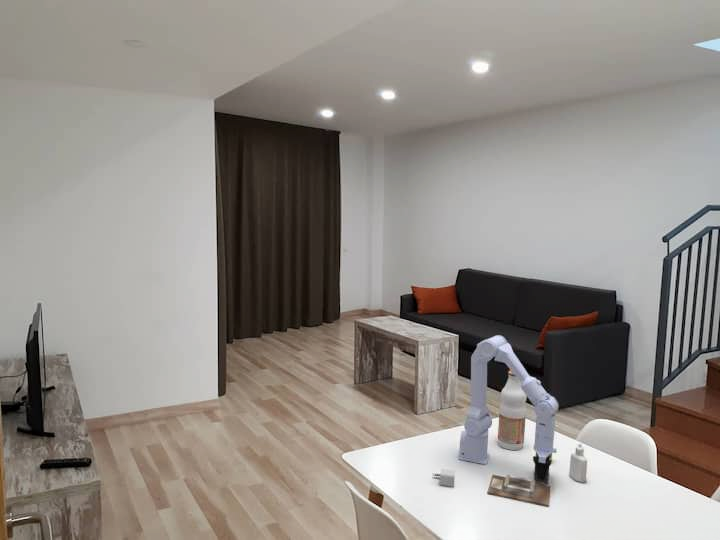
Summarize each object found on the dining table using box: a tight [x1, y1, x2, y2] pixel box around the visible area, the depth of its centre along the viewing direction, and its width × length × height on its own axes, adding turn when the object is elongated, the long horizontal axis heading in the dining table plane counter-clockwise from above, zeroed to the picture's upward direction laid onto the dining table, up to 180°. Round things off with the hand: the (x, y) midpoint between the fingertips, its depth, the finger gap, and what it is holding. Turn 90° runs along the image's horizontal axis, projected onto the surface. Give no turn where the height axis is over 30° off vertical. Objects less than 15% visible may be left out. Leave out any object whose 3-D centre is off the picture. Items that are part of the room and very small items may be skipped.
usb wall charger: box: [431, 468, 456, 488], centre depth 174 cm, size 4×7×4 cm, turn 78°
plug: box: [533, 465, 550, 485], centre depth 178 cm, size 4×3×6 cm
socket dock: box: [486, 474, 551, 508], centre depth 171 cm, size 18×12×3 cm, turn 69°
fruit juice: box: [497, 369, 528, 451], centre depth 202 cm, size 9×9×28 cm
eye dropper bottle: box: [568, 443, 588, 484], centre depth 179 cm, size 4×6×12 cm
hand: (541, 474), depth 178 cm, fingers open, 6 cm apart
